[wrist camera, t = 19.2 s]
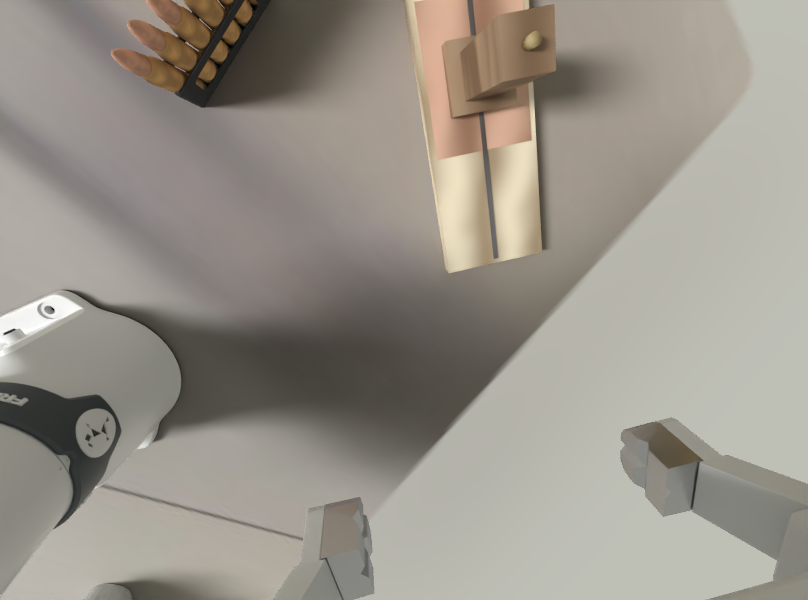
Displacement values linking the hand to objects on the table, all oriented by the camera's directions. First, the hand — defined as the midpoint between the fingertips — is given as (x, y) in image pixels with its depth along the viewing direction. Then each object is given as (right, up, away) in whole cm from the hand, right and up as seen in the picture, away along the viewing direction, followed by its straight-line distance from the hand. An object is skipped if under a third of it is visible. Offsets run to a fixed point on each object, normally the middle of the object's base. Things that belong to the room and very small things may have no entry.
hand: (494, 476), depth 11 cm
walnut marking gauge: (+4, +25, +21) cm, 32 cm away
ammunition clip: (-17, +26, +19) cm, 37 cm away
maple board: (+4, +21, +24) cm, 32 cm away
